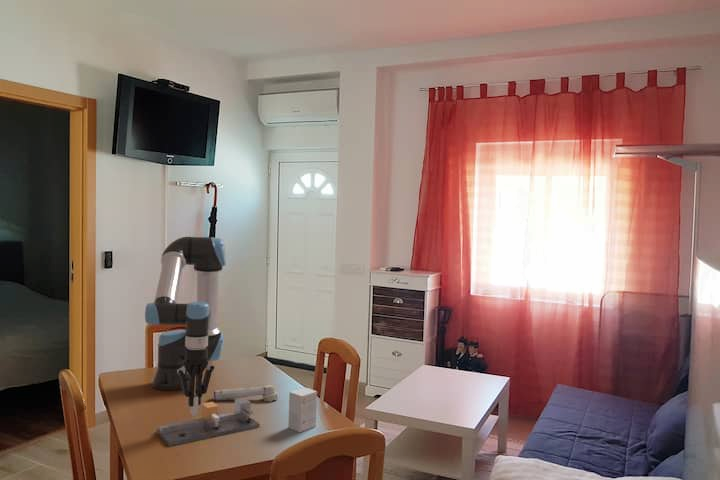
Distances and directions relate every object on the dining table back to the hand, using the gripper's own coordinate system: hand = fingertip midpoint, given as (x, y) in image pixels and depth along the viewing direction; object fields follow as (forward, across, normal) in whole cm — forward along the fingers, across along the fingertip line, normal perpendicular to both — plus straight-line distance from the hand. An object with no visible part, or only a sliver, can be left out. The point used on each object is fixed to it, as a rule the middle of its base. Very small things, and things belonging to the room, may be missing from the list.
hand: (194, 414), depth 193 cm
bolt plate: (+5, +4, -4) cm, 7 cm away
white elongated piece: (+6, +29, +18) cm, 34 cm away
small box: (+5, +33, -18) cm, 38 cm away
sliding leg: (+3, +6, -2) cm, 7 cm away
